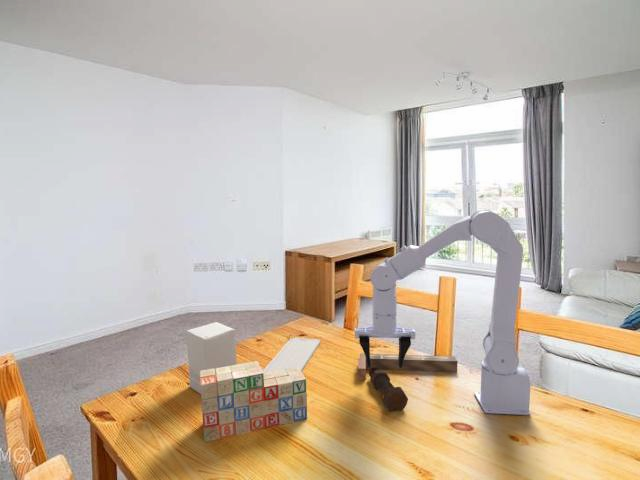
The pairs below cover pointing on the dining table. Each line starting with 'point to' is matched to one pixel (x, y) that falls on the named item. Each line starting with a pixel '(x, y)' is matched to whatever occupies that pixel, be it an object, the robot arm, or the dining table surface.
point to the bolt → (388, 390)
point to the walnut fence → (407, 363)
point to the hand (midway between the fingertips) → (384, 365)
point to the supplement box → (209, 350)
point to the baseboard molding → (293, 354)
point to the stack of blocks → (250, 399)
